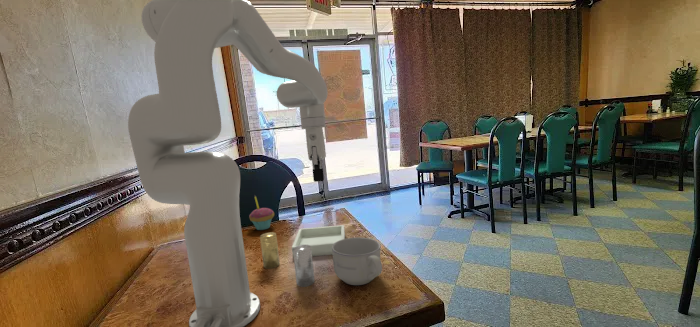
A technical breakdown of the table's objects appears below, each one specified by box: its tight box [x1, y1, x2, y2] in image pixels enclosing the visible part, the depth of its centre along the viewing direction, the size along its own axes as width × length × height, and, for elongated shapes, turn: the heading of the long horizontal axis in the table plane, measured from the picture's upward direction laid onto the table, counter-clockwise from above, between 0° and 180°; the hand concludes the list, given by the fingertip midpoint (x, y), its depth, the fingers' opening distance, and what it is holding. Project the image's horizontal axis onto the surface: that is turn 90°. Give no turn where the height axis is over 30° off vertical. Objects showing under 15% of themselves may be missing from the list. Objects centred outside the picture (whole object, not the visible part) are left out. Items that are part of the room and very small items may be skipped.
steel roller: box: [292, 245, 315, 288], centre depth 68 cm, size 4×4×8 cm
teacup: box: [332, 236, 383, 286], centre depth 66 cm, size 14×11×8 cm
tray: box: [291, 224, 346, 259], centre depth 88 cm, size 14×14×3 cm
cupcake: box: [248, 194, 275, 231], centre depth 107 cm, size 9×8×12 cm
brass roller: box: [259, 231, 281, 270], centre depth 77 cm, size 4×4×8 cm
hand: (318, 180), depth 97 cm, fingers closed
